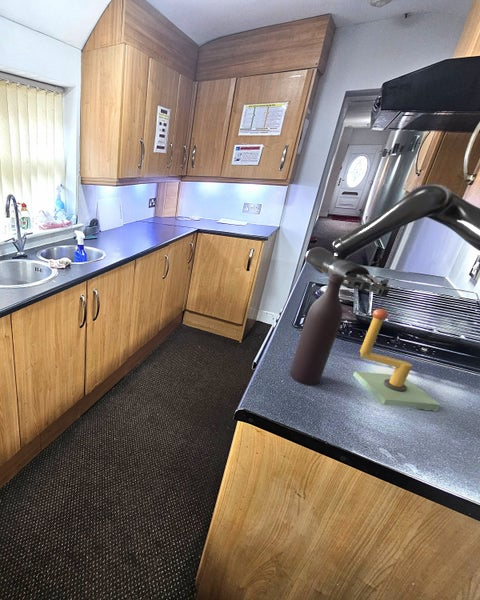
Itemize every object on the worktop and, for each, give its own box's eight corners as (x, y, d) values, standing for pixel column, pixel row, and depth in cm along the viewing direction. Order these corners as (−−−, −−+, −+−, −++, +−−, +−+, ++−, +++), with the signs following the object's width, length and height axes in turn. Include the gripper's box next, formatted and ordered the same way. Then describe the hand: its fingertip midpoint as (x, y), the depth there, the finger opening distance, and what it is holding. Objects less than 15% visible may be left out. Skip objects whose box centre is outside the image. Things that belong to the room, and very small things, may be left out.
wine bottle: (325, 385, 87) (364, 280, 75) (300, 387, 87) (335, 281, 75) (306, 369, 94) (339, 270, 82) (283, 371, 93) (312, 271, 81)
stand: (399, 381, 90) (403, 372, 89) (437, 411, 79) (442, 402, 78) (352, 377, 91) (355, 368, 90) (382, 405, 80) (386, 396, 79)
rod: (401, 383, 84) (433, 318, 77) (403, 388, 82) (435, 322, 75) (350, 368, 90) (374, 306, 83) (350, 372, 88) (375, 309, 81)
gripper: (329, 261, 105) (364, 278, 90) (374, 263, 104) (417, 281, 88) (321, 283, 108) (354, 303, 93) (365, 285, 107) (406, 307, 91)
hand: (385, 292), depth 90 cm, fingers closed
